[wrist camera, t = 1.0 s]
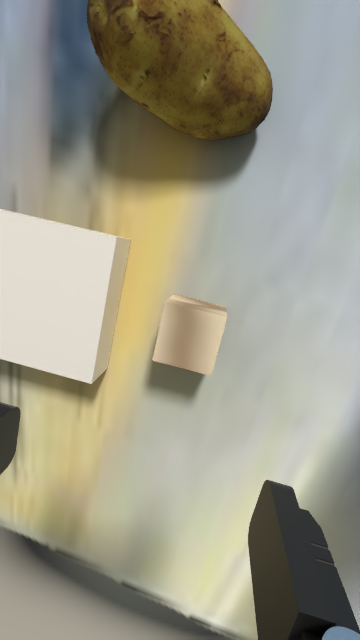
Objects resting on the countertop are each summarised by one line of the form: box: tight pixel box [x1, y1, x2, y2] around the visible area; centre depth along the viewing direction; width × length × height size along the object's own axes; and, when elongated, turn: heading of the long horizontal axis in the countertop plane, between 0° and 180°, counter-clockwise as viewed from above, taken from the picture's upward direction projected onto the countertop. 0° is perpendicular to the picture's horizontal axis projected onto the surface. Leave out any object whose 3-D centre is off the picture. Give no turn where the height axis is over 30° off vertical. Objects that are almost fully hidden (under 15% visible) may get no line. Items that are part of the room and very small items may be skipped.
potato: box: [87, 0, 273, 140], centre depth 22 cm, size 8×13×8 cm, turn 44°
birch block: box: [152, 294, 227, 376], centre depth 27 cm, size 5×5×5 cm
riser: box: [0, 209, 131, 384], centre depth 29 cm, size 14×13×4 cm
